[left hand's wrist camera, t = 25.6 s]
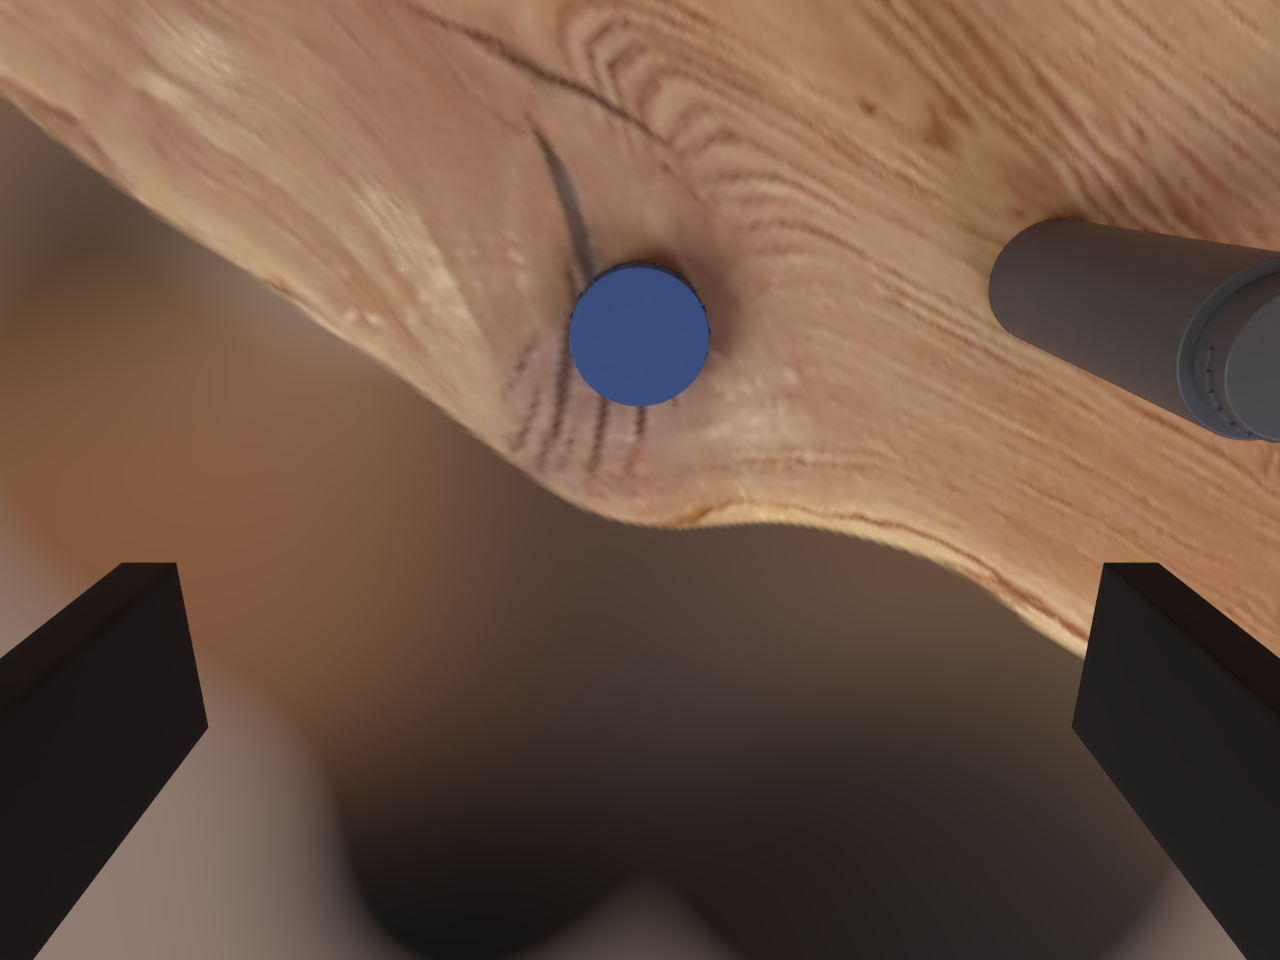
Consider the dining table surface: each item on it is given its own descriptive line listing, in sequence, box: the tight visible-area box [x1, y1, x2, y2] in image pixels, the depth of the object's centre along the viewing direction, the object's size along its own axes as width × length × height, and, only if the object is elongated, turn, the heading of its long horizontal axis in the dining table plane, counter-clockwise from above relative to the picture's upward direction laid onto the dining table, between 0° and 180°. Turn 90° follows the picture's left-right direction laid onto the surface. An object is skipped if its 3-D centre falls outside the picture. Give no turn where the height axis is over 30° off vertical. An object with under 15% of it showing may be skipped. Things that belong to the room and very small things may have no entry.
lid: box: [568, 261, 711, 406], centre depth 36 cm, size 6×6×2 cm
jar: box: [989, 219, 1280, 443], centre depth 29 cm, size 5×5×15 cm
